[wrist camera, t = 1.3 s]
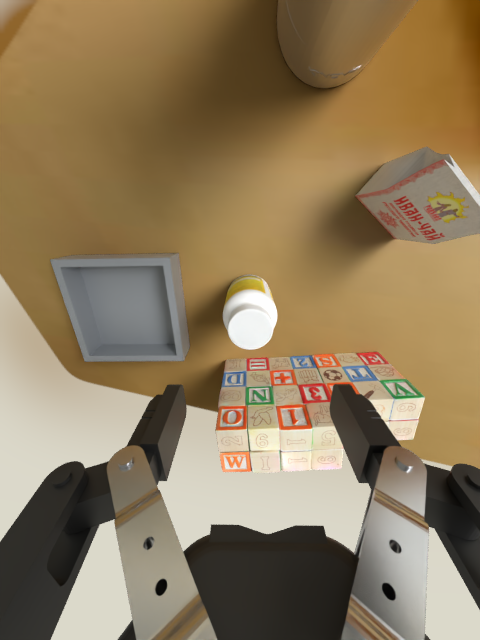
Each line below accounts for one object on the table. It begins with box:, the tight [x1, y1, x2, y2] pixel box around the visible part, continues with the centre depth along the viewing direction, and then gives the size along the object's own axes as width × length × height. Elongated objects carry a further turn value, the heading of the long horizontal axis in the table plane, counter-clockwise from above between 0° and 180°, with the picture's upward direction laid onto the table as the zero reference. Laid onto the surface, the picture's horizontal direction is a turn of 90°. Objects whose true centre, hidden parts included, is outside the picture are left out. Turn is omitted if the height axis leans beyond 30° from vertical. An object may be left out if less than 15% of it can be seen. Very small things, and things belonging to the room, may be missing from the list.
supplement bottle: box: [223, 275, 277, 350], centre depth 24 cm, size 5×5×10 cm
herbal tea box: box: [355, 147, 480, 244], centre depth 20 cm, size 4×7×10 cm, turn 51°
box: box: [50, 253, 190, 362], centre depth 28 cm, size 13×13×4 cm
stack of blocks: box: [216, 352, 425, 473], centre depth 28 cm, size 21×6×12 cm, turn 95°
